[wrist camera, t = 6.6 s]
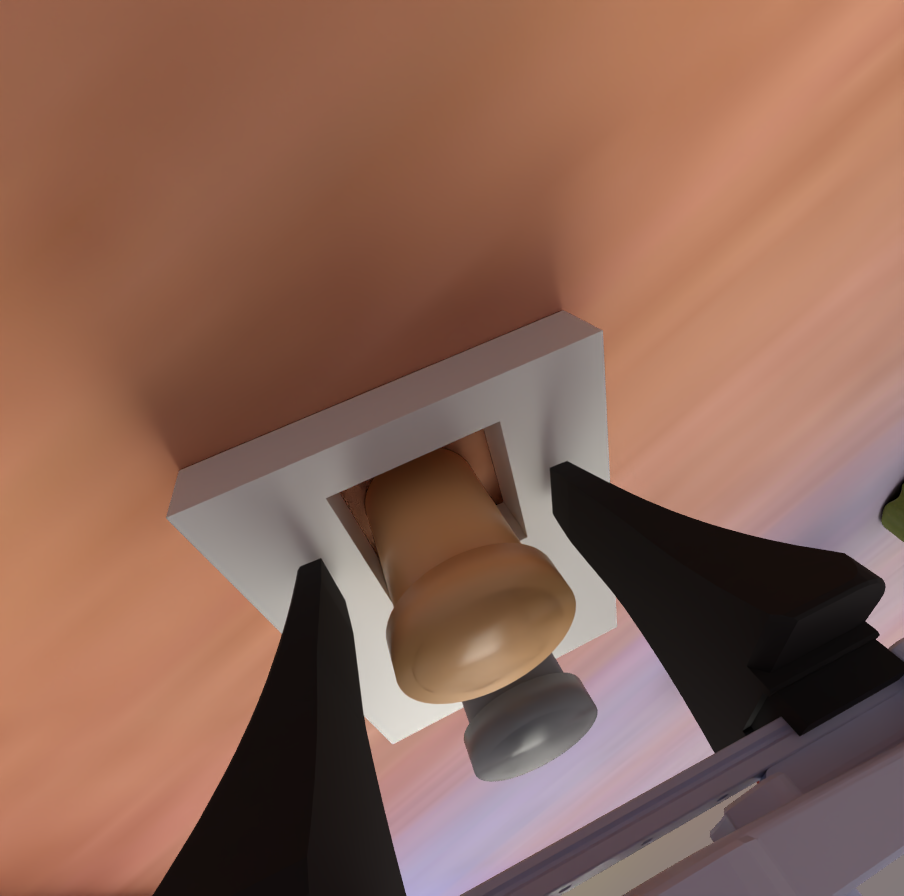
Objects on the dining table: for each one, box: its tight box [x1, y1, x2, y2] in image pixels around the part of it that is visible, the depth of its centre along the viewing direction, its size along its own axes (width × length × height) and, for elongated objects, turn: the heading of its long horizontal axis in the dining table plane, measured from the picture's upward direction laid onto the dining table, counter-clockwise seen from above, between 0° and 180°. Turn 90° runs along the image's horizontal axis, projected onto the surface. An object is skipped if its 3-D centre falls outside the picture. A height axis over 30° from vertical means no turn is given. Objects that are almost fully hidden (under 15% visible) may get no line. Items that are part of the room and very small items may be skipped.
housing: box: [166, 310, 617, 744], centre depth 17 cm, size 16×12×2 cm
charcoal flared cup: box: [462, 653, 597, 782], centre depth 18 cm, size 5×5×6 cm
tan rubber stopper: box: [365, 448, 576, 704], centre depth 13 cm, size 5×5×6 cm
